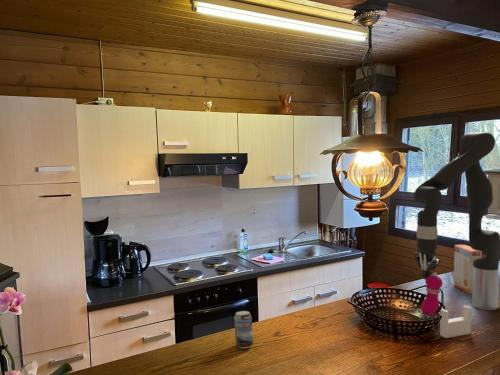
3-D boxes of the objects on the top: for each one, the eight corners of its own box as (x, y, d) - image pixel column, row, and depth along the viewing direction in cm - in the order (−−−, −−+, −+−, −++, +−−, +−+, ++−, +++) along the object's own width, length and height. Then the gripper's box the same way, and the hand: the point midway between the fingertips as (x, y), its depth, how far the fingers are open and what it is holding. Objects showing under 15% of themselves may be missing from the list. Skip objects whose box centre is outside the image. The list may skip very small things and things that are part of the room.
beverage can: (240, 352, 129) (239, 318, 128) (231, 343, 135) (230, 311, 135) (256, 348, 132) (256, 314, 131) (247, 339, 138) (246, 307, 138)
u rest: (465, 330, 142) (465, 305, 141) (470, 333, 139) (471, 307, 139) (440, 335, 139) (440, 309, 138) (445, 338, 136) (445, 311, 136)
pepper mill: (419, 321, 150) (424, 273, 146) (420, 312, 156) (425, 267, 152) (439, 326, 147) (445, 277, 143) (440, 317, 153) (445, 270, 149)
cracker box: (481, 294, 178) (482, 250, 176) (468, 294, 178) (469, 251, 176) (465, 284, 192) (466, 244, 190) (453, 285, 192) (453, 244, 190)
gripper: (447, 239, 146) (446, 283, 147) (423, 232, 158) (422, 273, 160) (431, 240, 144) (430, 285, 145) (407, 234, 156) (407, 275, 158)
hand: (426, 279), depth 152 cm, fingers closed
